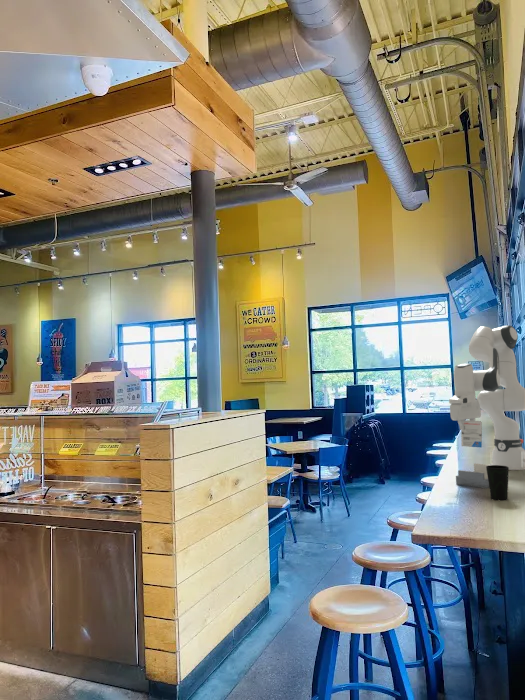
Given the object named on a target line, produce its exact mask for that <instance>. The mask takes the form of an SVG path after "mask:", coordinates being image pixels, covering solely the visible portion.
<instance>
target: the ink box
mask: <svg viewBox="0 0 525 700" xmlns="http://www.w3.org/2000/svg"><path fill="white" fill-rule="evenodd" d="M482 422H483V421H481V420H475V421H470V419H466V420H464V422H463V424H464V426H465V430H460V431H461V433H460V434H461V436H460V437H461V439H460V440H461V445H460V446H461V447H466V448H467V447H469V448H470V447H472V448H482V445H483V443H482V438H483V437H482V436H483V435H482V434H483V431H482V430H483V423H482Z"/></svg>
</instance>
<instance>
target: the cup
mask: <svg viewBox="0 0 525 700" xmlns="http://www.w3.org/2000/svg"><path fill="white" fill-rule="evenodd" d="M488 465H489V466H486V469H487V475H488V482H489V488H488V489H489V495H490V499H491V500H492V499H493V501H498V500H500V501H501V502H503V501H507V500H508V498H509V497H508V493H509V492H508V491H509V471H510V470H509V467H507V466H501V465H490V464H488ZM500 501H499V502H500Z"/></svg>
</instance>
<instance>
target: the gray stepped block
mask: <svg viewBox="0 0 525 700" xmlns="http://www.w3.org/2000/svg"><path fill="white" fill-rule="evenodd" d="M457 473H458V474H457V475H455V484H456V485H458V486H465V487H474V488H480V489H490V488H489V482H488V478H487V479H485V478H484V473H479V472H474V470H473V471H471V470H462V469H458V471H457Z"/></svg>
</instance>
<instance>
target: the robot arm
mask: <svg viewBox="0 0 525 700" xmlns="http://www.w3.org/2000/svg"><path fill="white" fill-rule="evenodd" d="M518 337H519V335H518V332H517V330H516V329H515V328H514V326H512V325H509V324H507V325H502V326H499V327H496V328H491V327H489V326H480V327H478V328H477V329H476V330H475V331H474V333H473V335H472V337H471V338H470V341H469V343H468V344H469V345H468V353H469V354H470V355H471V357H472V358H473V359H475V360H477V361H479V362H486V363H488V369H482V370H474V368H473V364H472V363H461V364H460V363H459V364H456V365H455V366H454V371H453V372H454V373H453V382H454V383H453V384H454V386H455V389H454V395H453V396H452V397H450V398H449V400H448V403H449V404H450V405H449V414H450V419H451V420H452V421H455V422H456V421H457V423H458V426H459V430H460V431H461V430H465V426H464V424H463V422H464V420H470V421H476V419H479V418H481V417H482V411H484V412H485V413H486V414H487V416H488V417H489V418H490V419H491V422H492V425H493V430H494V439H493V445H494V448H493V449H492V451H491V452H492V453H491V454H492V455H491V456H492V457H491V463H489V465H501V466H507V467H509V471H510V470H511V471H516V470H517V471H519V470H520V471H521V470H522V471H523V470H525V449H524V448H523V447H522V446H523V443H524V439H522V438H520V428H519V427H520V426H519V424H518V422H517V421H516V420H515V419H513V418H511V417H508V416H506V415H505V412H522V411H525V387H524V386H522V385H521V383H520V382H519V380H518V375H517V373H518V372H517V360H516V355H515V353H514V350H513V349H515V347H516V344H517V343H518ZM500 387H501V389H499V388H500ZM502 387H503V388H502ZM476 392H479V393H478V394H477V397H476Z"/></svg>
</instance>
